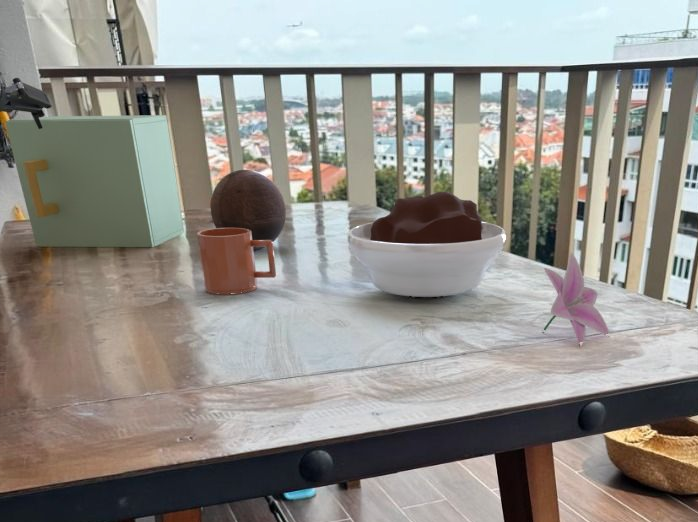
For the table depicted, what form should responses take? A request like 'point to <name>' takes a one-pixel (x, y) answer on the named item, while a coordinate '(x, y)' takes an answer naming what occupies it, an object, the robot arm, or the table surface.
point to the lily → (575, 301)
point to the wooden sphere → (249, 205)
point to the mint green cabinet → (81, 182)
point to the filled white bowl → (427, 246)
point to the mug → (231, 260)
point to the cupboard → (151, 171)
